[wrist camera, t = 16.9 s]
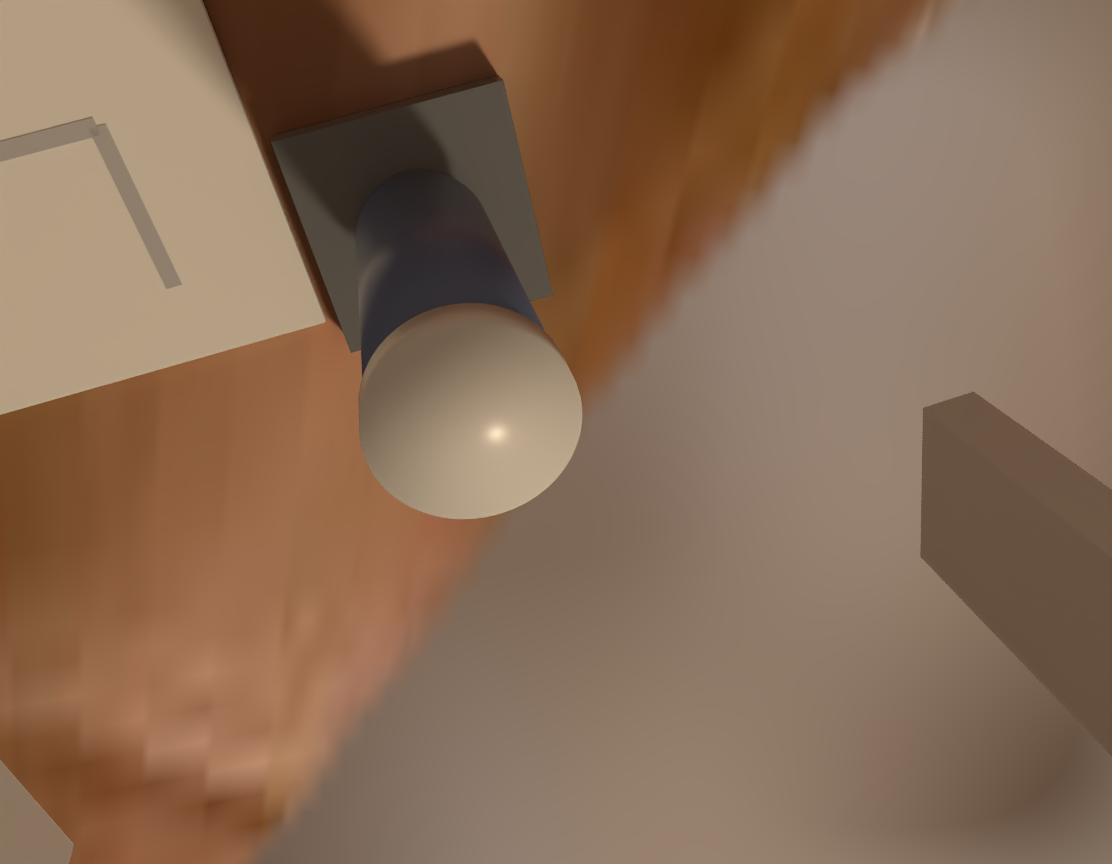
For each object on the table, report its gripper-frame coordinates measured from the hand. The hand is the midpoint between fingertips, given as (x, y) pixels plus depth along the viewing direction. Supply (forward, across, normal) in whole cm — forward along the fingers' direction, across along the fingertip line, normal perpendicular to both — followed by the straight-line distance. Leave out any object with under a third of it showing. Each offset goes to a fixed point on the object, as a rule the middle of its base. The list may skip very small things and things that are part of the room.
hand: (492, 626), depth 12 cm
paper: (+20, -11, +3) cm, 23 cm away
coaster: (+19, +1, 0) cm, 19 cm away
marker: (+18, +1, 0) cm, 18 cm away
